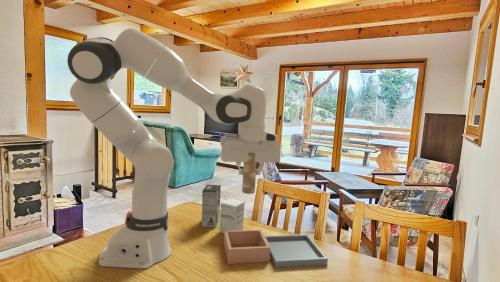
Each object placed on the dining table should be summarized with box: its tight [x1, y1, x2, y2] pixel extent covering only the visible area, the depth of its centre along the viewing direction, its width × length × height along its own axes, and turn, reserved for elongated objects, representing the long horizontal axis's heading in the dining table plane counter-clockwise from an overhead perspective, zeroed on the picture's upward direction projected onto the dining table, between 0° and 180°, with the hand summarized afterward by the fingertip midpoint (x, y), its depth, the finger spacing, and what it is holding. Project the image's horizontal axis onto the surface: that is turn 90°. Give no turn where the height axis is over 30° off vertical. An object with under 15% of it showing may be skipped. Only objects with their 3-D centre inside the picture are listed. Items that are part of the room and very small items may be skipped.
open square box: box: [223, 229, 271, 265], centre depth 103 cm, size 14×14×5 cm
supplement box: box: [219, 198, 245, 234], centre depth 118 cm, size 7×7×13 cm
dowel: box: [241, 153, 257, 195], centre depth 99 cm, size 4×4×14 cm
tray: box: [264, 234, 329, 269], centre depth 104 cm, size 18×18×2 cm
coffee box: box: [201, 184, 222, 229], centre depth 125 cm, size 9×6×16 cm
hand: (249, 174), depth 99 cm, fingers closed on dowel, 4 cm apart
